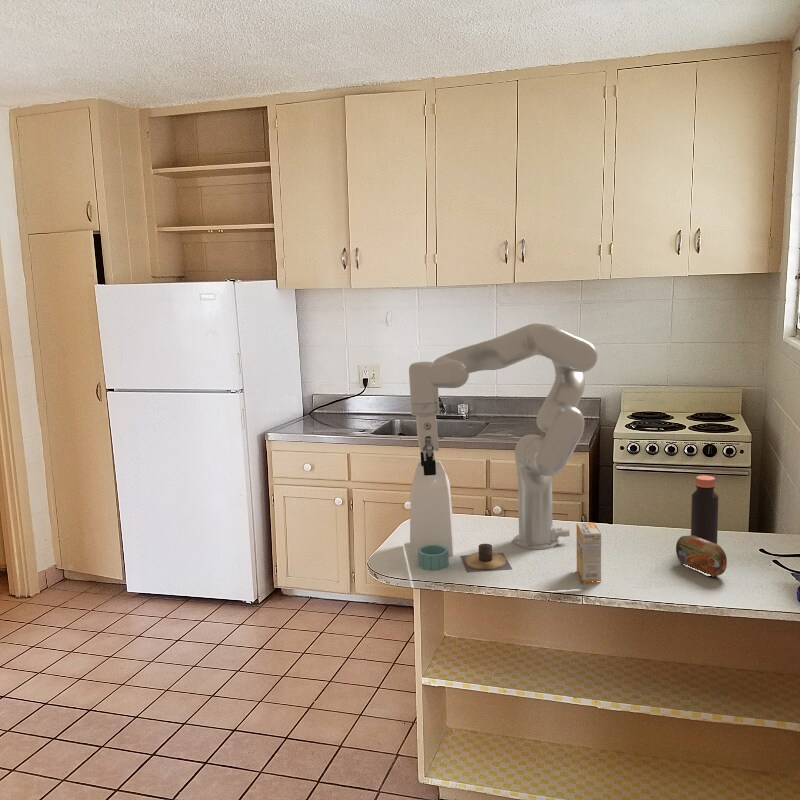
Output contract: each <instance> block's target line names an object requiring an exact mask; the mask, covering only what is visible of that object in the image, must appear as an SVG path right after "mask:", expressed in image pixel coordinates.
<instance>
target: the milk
mask: <svg viewBox="0 0 800 800" xmlns="http://www.w3.org/2000/svg"><path fill="white" fill-rule="evenodd" d="M435 463H436V475H428V476H425V475H424V468H423V466H421V460H418V463H417V466H416V468H415V472H414V475H413V480H412V484H411V489H410V501H409V502H410V503H409V505H410V507H409V511H410V512H409V513H410V516H409V517H410V518H409V527H410V528H409V531H410V532H409V556H410V557H418V549H419V548H421V547H423V546H426V545H441V546H444V547H447V548H448V556H449V557H453V556H454V546H455V537H454V520H453V508H452V495H451V483H450V480H449V476H448V474H447V472H446V470H445V468H444V466H443V464H442V462H441V460H435Z"/></svg>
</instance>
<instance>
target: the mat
mask: <svg viewBox="0 0 800 800" xmlns="http://www.w3.org/2000/svg"><path fill="white" fill-rule="evenodd" d="M496 553H497V554H501V555H503V556H504V557H505V558H506V565H505V566H503V567H501V568H498V569H494V570H478V569H473V568H470V567H468V566H467V565H466V564H465V558H466V557H467V556H468V555H469V554H465V555H459V556H460V558H461V561H462V563H463V564H462V565H463V566H464V568H465V571H466V573H481V572H493V571H494V572H495V571H496V572H497V571H510V570H511V571H512V570H513V568H512V565H511V564H510V562H509V560H508V559H507V557H506V556H505V554H504V552H496Z"/></svg>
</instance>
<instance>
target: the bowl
mask: <svg viewBox="0 0 800 800" xmlns="http://www.w3.org/2000/svg"><path fill="white" fill-rule="evenodd" d="M449 557H450V556H448V548H447V547H444V546H441V545H426V546H423V547H421V548H419V549H418V556H417V560H418V561H417V563H418V565H417V566H418V567H419V568H420V569H423V570H425V571H426V570H427V571H440V570H443V569H446V568H447V567H448V566H450V562H449V561H450V559H449Z"/></svg>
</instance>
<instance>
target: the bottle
mask: <svg viewBox="0 0 800 800" xmlns="http://www.w3.org/2000/svg"><path fill="white" fill-rule="evenodd" d="M715 486H716V478H715V477H714V476H712V475H711V476H710V475H698V476H696V477H695V487H696V490H695V491H694V492H693V493H692V494H691V505H690V506H691V509H690V510H691V512H690V513H691V514H690V517H691V519H690V535H693V536H696V537H699V538H702V539H704V540H707V541H710V542H712V543H715V544H717V545H718V531H719V530H718V527H719V495H718V494H717V493H716V491H714V489H715V488H716V487H715Z"/></svg>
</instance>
